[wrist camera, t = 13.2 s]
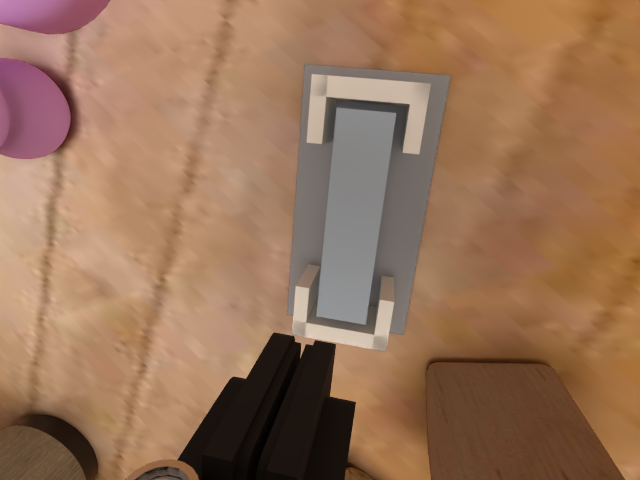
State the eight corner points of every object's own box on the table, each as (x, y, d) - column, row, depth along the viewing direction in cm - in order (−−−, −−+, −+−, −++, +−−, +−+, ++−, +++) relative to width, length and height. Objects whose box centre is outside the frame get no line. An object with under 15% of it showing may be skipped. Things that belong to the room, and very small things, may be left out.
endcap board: (449, 76, 26) (461, 66, 21) (403, 331, 32) (404, 367, 27) (306, 65, 27) (288, 54, 23) (288, 311, 34) (271, 342, 29)
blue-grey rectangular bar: (346, 109, 27) (336, 107, 23) (395, 114, 27) (396, 113, 22) (327, 287, 32) (316, 316, 27) (369, 293, 31) (365, 324, 26)
